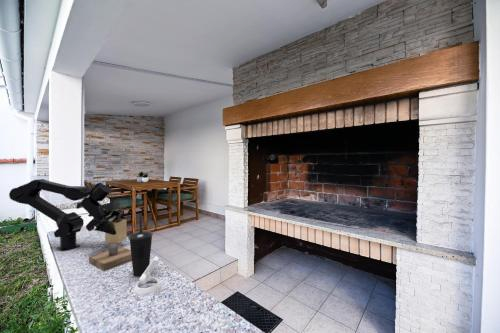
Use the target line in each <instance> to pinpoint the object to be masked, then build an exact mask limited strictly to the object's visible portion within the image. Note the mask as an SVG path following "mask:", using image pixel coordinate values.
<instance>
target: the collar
mask: <svg viewBox="0 0 500 333" xmlns="http://www.w3.org/2000/svg"><path fill="white" fill-rule="evenodd" d="M127 223H128V222H127V219H120V220H116V219H114V220H112V221H108V224H109V225H110V226H111V228H112V229H113V230H114V231H115V233H116V234H115V235H112V234H108V233H105V232H104V234H105V235H104V241H105V244H112V243H118V244H119V243H121V242H123V241H125V240H127V239H128V237H127V232H128V230H127V229H128V228H127V226H128V225H127Z"/></svg>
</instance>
